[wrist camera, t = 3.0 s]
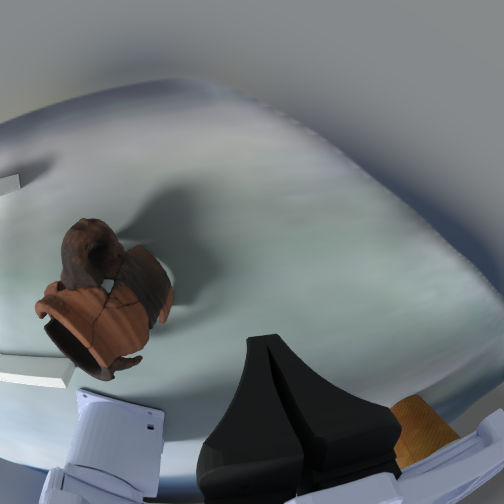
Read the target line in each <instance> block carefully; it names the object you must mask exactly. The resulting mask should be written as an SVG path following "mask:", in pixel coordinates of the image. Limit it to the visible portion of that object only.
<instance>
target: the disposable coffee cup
mask: <svg viewBox="0 0 504 504" xmlns="http://www.w3.org/2000/svg"><path fill="white" fill-rule="evenodd" d="M390 410H391V412H392V413H393V414H394V415H395V417H396V418H397V419H398V421H399V423H400V424H401V426H402V432H401V435H400V437H399V439H398V441H397V443H396V445H395V447H394V451H395V453H396V455H397V458H396V459H397V462H398V465H399V468H400V469H402V468H405V467H407V466H409V465H412V464H414V463H416V462H418V461H421V460H423V459H425V458H427V457H429V456H431V455H433V454H435V453H437V452H439V451H441V450H443V449H445V448H447V447H449V446H450V445H452V444H454V443H456V442H458V441H459V440H461V439H462V438H461V437H460V436H459V435H458V434H457V433H456V432H454V430H453V429H452V428H451V427H450V426H449V425H448V424H447V423H446V422H445V421H444V420H443V419H442V418H441V417H440V416H439V415H438V414H437V413H436V412H435V411H434V410H433V409H432V408H431V407H430V406H429V405H428V404H427V403H426V402H425V401H424V400H423V399H422V398H421V397H420V396H411V397H408V398H406V399H404V400H402V401H400V402H399V403H397V404H396V405H395V406H393V407H392V408H391V409H390Z"/></svg>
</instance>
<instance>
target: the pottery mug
mask: <svg viewBox="0 0 504 504" xmlns="http://www.w3.org/2000/svg"><path fill="white" fill-rule="evenodd" d="M61 256H62V264H63V270H62V273H61V281H59V282H58V281H56V282H54V283H52V284H50V285H48V286H47V288H46V290H45V292H44V295H45V297H43V299H41V300H39V301H37V303H36V305H35V310H36V313H37V315H38V316H39V318H40V319H43V318H44V317H45V316H46V315H47V313H48V315H49V316H50V318H51V320H50V321H49V323H47V324H46V325H45V326H44V330H45V331H46V333H47V335H48V336H49V337H50V339H51V340H52V341H53V342H54V344H55V345H56V346H57V347H58V348H59V349H60V351H61V352H62V353H63V354H64V355H65V356H67V357H68V358H69V359H70V360H71V361H72V362H73V363H75V364H76V365H77V366H78V367H79V368H81V369H82V370H84V371H85V372H86V373H88V374H89V375H91V376H92V377H94V378H97V379H99V380H102V381H110V380H112V379H115V376H114V375H113V374H114V372H115V371H120V370H124V369H128V368H131V367H133V366H135V365H137V364H139V363H140V362H141V360H142V358H143V357H142V356H136V357H134V358H124V357H121V356H126V355H128V354H133V353H135V352H137V351H140V350H142V349H143V348H144V346H145V345H146V343H147V342H148V340H149V329H152V328H153V326H154V324H155V323H156V321H157V318H158V316H159V323H162V324H164V323H165V322H166V320H167V318H168V315H169V312H170V308H171V307H172V305H173V301H174V293H173V289H172V286H171V282H170V280H169V278H168V276H167V274H166V271H165V270H164V269H163V268H162V266H161V265H160V263H159V262H158V261H157V259H156V258H155V257H154V256H153V255H151V254H150V253H149V252H148V251H146V250H145V249H143V248H142V247H140V246H136V247H134V248H133V249H132V250H129V251H128V252H125V251H124V247H123V246H122V244H121V243H119V242H118V239H117V237H116V235H115V233H114V232H113V230H112V229H111V228H110V227H109V226H108V225H107V224H106V223H105V222H103V221H101V220H99V219H85V218H82V219H80V220H79V221H78V222H77V223H76V224H75V225H73V226H72V227H71V228H70V229H69V230H68V232H67V233H66V235H65V237H64V239H63V242H62V247H61ZM104 279H111V280H114V285H113V287H112V289H111V292H110V293H107V291H106V290H105V289H104V288H103V287H101V286H100V285H101V284H102V283H103V281H104ZM65 286H66V287H65Z"/></svg>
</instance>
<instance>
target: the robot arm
mask: <svg viewBox="0 0 504 504" xmlns="http://www.w3.org/2000/svg"><path fill="white" fill-rule="evenodd" d="M246 342H247V354H246V360H245V365H244V370H243V373H242V376H241V380H240V383H239V385H238V388H237V391H236V393H235V395H234V398H233V400H232V402H231V404H230V406H229V408H228V409H227V411H226V413H225V415H224V416H223V418H222V419H221V421H220V422H219V424H218V425H217V427H216V428H215V429H214V431H213V432H212V433H211V434H210V436H209V437H208V438H207V439H206V441H205V442H204V443H203V446H202V448H201V451H200V455H199V458H198V462H197V469H196V475H197V485H198V487H199V489H200V491H201V493H202V495H203V497H204V502H205V504H455V503H456V502H458V501H459V500H461V499H462V498H464V497H465V496H467V495H468V494H470V493H471V492H472V491H474V490H475V489H476V488H478V487H479V486H481V485H482V484H483V483H485V482H486V481H488V480H489V479H490V478H491V477H493V476H494V475H495V474H497V473H498V472H499V471H501V469H502V468H503V467H504V411H503V410H502V409H498V410H497V411H495V412H494V413H492V414H491V415H489V416H488V417H486V418H485V419H484V420H483V421H482V422H481V423H480V425H479V426H478V428H477V430H476V431H475V432H473V433H472V434H470V435H468V436H466V437H465V438H463V439H461V440H459V441H458V442H456V443H454V444H452V445H450V446H449V447H447V448H445V449H443V450H441V451H439V452H437V453H435V454H433V455H431V456H429V457H427V458H425V459H423V460H421V461H418V462H416V463H414V464H412V465H409V466H407V467H405V468H402V469H400V468H399V466H398V464H397V462H396V460H395V459H396V458H397V455H396V453H395V451H394V447H395V445H396V443H397V441H398V439H399V437H400V435H401V432H402V426H401V424H400V423H399V421H398V419H397V418H396V417H395V415H394V414H393V413H392V412H391V410H390V409H389V408H388V407H385V406H381V405H378V404H375V403H371V402H368V401H366V400H363V399H361V398H358V397H356V396H354V395H351V394H349V393H347V392H345V391H344V390H342V389H340V388H338V387H336V386H334V385H333V384H331V383H330V382H328V381H327V380H325V379H324V378H322V377H321V376H320V375H318V374H317V373H316V372H315V371H313V370H312V369H311V368H310V367H309V366H307V365H306V364H305V363H304V362H303V361H302V360H301V359H300V358H299V357H298V356H297V355H296V354H295V353H294V352H293V351H292V350H291V349H290V348H289V347H288V346H287V344H286V343H285V342H284V341H283V340H282V339H281V337H280V336H279V335H278V334H271V335H263V336H255V337H248V338H247V339H246ZM77 402H78V411H79V421H78V424H77V427H76V430H75V433H74V436H73V439H72V443H71V446H70V449H69V453H68V456H67V460H66V463H65V467H64V469H61V468H59V467H56V468H54V469H51V470H50V471H49V473H48V475H47V478H46V481H45V483H44V486H43V490H42V493H41V497H40V501H39V504H147V503H146V502H143V501H142V499H143V496H144V497H156V495H157V490H158V483H159V473H160V460H161V454H162V452H163V446H164V439H162V433H163V422H164V415H165V413H164V412H163V411H161V410H157V409H152V408H148V407H143V406H139V405H135V404H131V403H127V402H123V401H119V400H116V399H112V398H108V397H105V396H101V395H98V394H95V393H92V392H88V391H85V390H82V389H78V390H77ZM296 492H297V497H296Z"/></svg>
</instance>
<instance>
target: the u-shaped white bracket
mask: <svg viewBox="0 0 504 504" xmlns="http://www.w3.org/2000/svg"><path fill="white" fill-rule="evenodd" d="M18 189H20V182H19V175H18V174H16V175H12V176H8V177H5V178H1V179H0V196H1V195H4V194H7V193H10V192H12V191H15V190H18ZM75 368H76V367H75V365H74V363H73V362H72V361H71V360H70V359H69V358H51V357H31V356H17V355H5V354H0V380H1V381H7V382H14V383H21V384H29V385H37V386H47V387H58V388H67V386H68V384H69V381H70V379H71V377H72V375H73V373H74V370H75Z"/></svg>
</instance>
